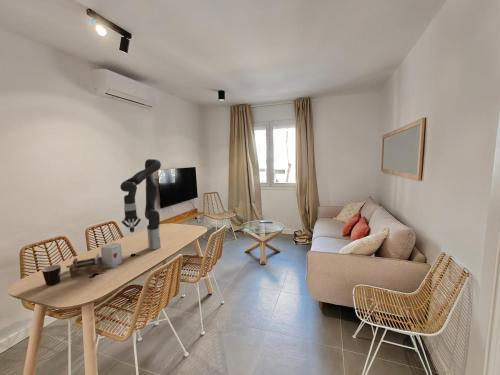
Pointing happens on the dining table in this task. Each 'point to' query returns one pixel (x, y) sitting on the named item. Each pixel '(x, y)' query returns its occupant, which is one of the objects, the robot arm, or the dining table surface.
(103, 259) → the supplement box
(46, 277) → the coffee mug
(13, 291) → the dining table surface
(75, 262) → the brown wooden box
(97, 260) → the pusher plate
